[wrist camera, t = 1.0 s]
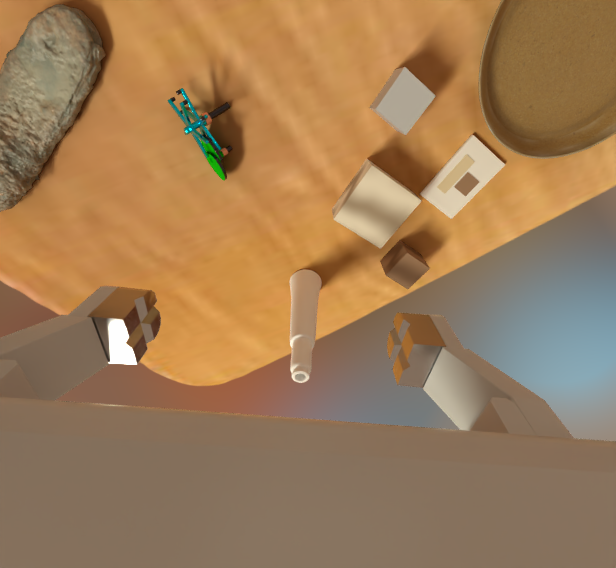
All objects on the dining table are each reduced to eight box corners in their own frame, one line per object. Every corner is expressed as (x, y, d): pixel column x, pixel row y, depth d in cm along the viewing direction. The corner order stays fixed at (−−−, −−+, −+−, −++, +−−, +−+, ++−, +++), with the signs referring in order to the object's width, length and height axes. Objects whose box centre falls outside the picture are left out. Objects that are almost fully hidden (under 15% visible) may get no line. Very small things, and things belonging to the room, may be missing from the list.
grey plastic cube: (394, 69, 37) (404, 66, 33) (422, 95, 39) (435, 96, 34) (369, 107, 40) (375, 109, 35) (396, 130, 41) (405, 135, 37)
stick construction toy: (155, 95, 37) (175, 99, 32) (200, 70, 39) (225, 70, 34) (207, 178, 46) (228, 191, 41) (242, 154, 48) (266, 164, 43)
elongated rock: (136, 63, 39) (66, -16, 35) (112, 54, 34) (28, -38, 30) (16, 225, 50) (-46, 177, 46) (-14, 235, 45) (-86, 183, 41)
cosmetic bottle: (326, 274, 54) (331, 367, 36) (315, 299, 57) (315, 396, 39) (295, 265, 53) (283, 355, 35) (285, 290, 56) (271, 386, 38)
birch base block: (366, 158, 43) (372, 165, 39) (411, 191, 46) (421, 200, 41) (331, 208, 47) (333, 219, 43) (375, 235, 50) (380, 248, 46)
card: (471, 134, 41) (473, 135, 40) (503, 164, 43) (505, 164, 42) (419, 193, 46) (420, 194, 45) (450, 217, 48) (451, 219, 47)
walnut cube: (399, 239, 50) (407, 252, 46) (420, 254, 51) (429, 268, 47) (380, 260, 52) (385, 275, 48) (400, 274, 54) (407, 289, 50)
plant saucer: (729, 16, 34) (765, 9, 31) (535, 187, 45) (550, 194, 42) (628, -186, 27) (665, -218, 24) (427, 77, 38) (436, 76, 35)
